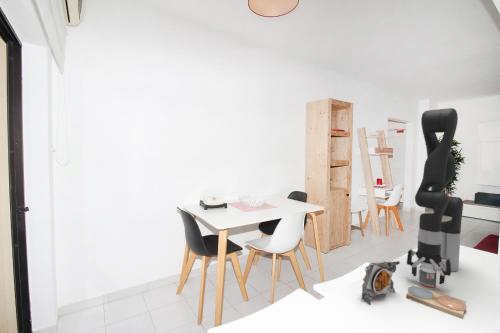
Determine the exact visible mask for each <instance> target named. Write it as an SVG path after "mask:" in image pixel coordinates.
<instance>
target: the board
mask: <svg viewBox="0 0 500 333" xmlns="http://www.w3.org/2000/svg"><path fill="white" fill-rule="evenodd" d="M411 286H417V287H422V286H420V285H416V284H414V283H412V285H411ZM422 288H424V287H422ZM424 289H426V288H424ZM427 290H429V291H430V292H432V293H433V295H434V298H433V299H421V298H418V297H415V296H413V295H412V294H410V293H409V292H408V291H407V293H406V296H405V298H406V299H408V300H411V301H414V302H416V303H419V304H422V305H425V306H427V307H431V308H433V309H436V310H439V311H441V312H444V313H447V314H450V315H452V316H454V317H458V318H461V319H464V315H465V310H464V311H456V310H452V309H449V308H447V307H444V306H443V305H441V304H440V303H439V302H438V301H437V297H439V296H448V297H452V298H455V299H457V300H459V301H461V302H463V303H464V304H465V305H466V302H467V301H466V300H462V299H459V298H456V297H453V296H449V295H447V294H444V293H441V292H438V291H435V290H433V289H427ZM466 306H467V305H466Z"/></svg>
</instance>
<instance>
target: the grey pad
mask: <svg viewBox="0 0 500 333" xmlns="http://www.w3.org/2000/svg"><path fill="white" fill-rule="evenodd" d="M417 286H418V285H417ZM417 286H412V285H410V286H409V287H408V288H407V293H408V292H409V293H410V294H412V295H413V296H415V297H418V298H421V299H433V298H434V295H433V293H432V292H430V291H429V290H430V289H429V290H427V289H424V287H423V288H422V286H420V287H417Z"/></svg>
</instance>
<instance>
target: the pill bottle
mask: <svg viewBox="0 0 500 333" xmlns="http://www.w3.org/2000/svg"><path fill="white" fill-rule="evenodd" d="M437 274H438V271H437V270H436V268H435V267H434V266H433V264H429V263H425V262H421V263H420V266H419V268H418V284H419V285H418V286H420V287H423V288H426V289H429V290H435V289H436V287H437V278H438V277H437Z"/></svg>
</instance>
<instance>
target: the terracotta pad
mask: <svg viewBox="0 0 500 333" xmlns="http://www.w3.org/2000/svg"><path fill="white" fill-rule="evenodd" d="M448 296H449V295H448ZM448 296H439V297H437V301H438V302H439V303H440V304H441V305H443V306H444V307H447V308H449V309H452V310H456V311H464V312H465V311H466V310H467V305H465V304H464V303H463V302H461V301H459V300H457V299H458V298H457V299H455V298H456V297H454V298H452V297H453V296H451V297H448Z"/></svg>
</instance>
